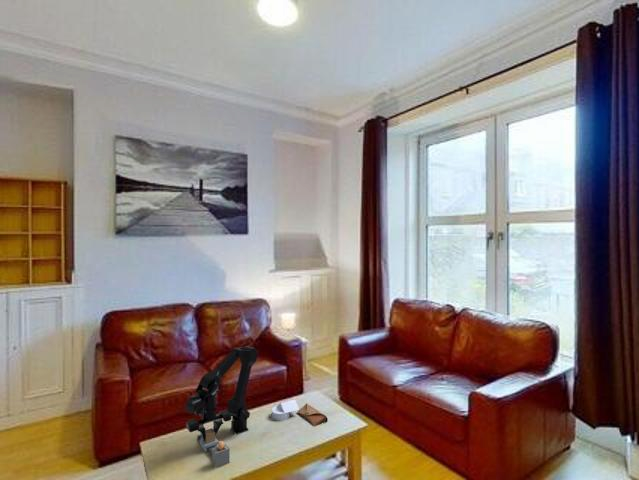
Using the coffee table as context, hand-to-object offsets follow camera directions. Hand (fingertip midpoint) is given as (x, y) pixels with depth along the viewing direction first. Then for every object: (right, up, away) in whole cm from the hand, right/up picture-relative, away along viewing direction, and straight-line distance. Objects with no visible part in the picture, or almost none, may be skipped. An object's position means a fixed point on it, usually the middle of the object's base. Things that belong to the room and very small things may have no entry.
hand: (209, 439), depth 164 cm
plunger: (+8, +2, -11) cm, 14 cm away
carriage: (0, -4, 0) cm, 4 cm away
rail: (+1, -4, -1) cm, 4 cm away
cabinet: (+8, -4, -11) cm, 14 cm away
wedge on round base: (+30, -3, +30) cm, 43 cm away
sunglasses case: (+45, -4, +28) cm, 52 cm away
